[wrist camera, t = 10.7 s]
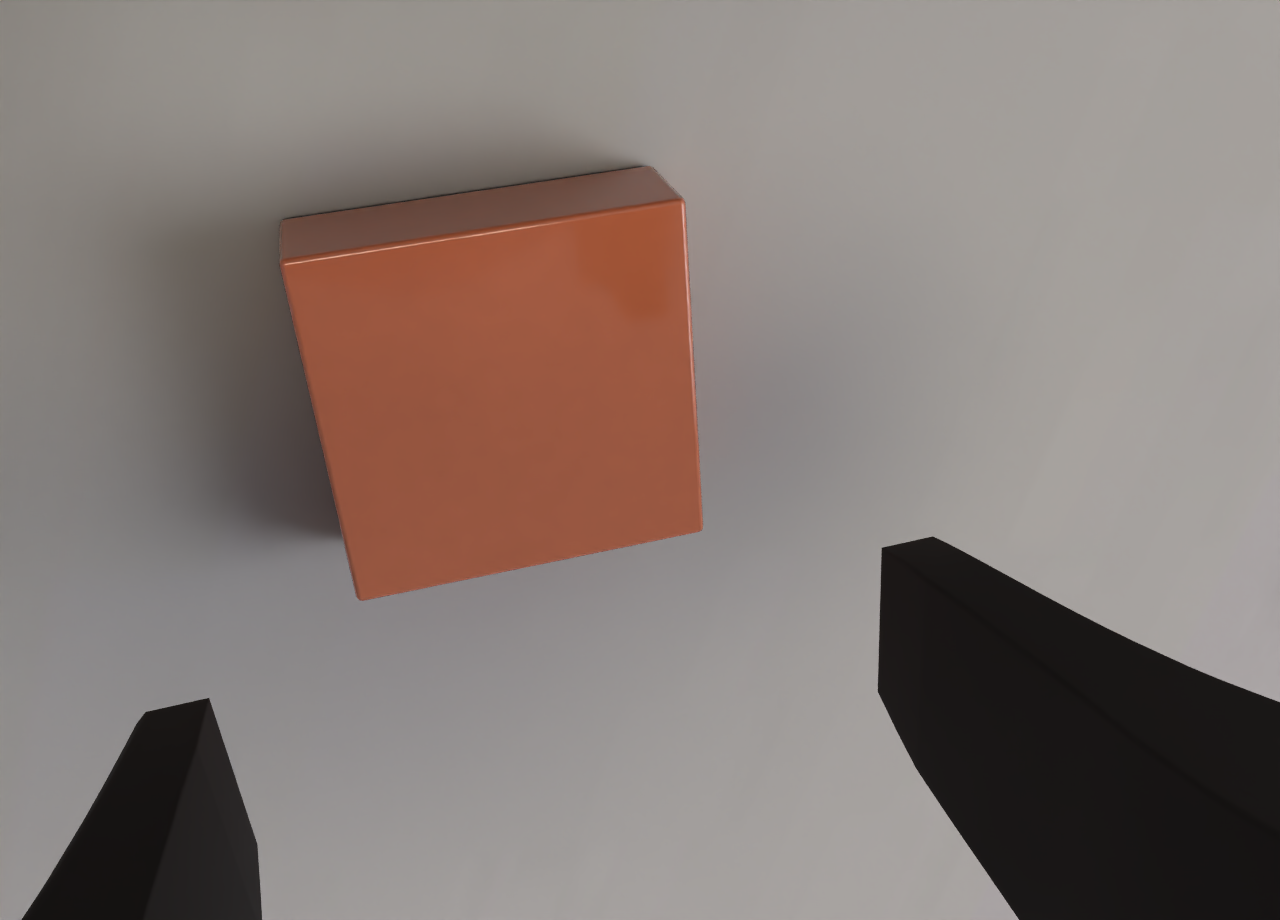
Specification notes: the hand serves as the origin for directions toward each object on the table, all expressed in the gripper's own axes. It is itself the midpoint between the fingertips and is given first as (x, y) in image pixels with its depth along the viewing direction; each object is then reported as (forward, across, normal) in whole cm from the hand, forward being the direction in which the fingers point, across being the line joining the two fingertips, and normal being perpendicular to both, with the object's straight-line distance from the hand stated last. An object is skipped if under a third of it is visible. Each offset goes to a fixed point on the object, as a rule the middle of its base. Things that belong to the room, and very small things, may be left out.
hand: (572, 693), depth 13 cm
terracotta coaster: (+8, 0, 0) cm, 8 cm away
